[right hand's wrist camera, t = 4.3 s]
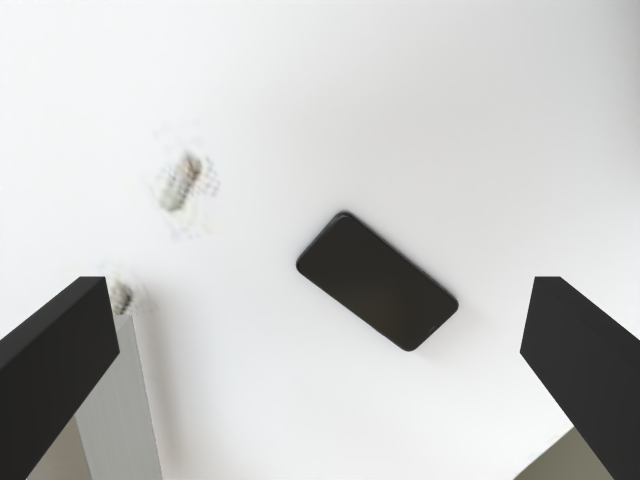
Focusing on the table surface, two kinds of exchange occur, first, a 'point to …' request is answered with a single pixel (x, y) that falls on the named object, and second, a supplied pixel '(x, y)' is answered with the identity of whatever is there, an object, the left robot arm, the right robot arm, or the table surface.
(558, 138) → the table surface
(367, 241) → the smartphone
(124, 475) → the bar
